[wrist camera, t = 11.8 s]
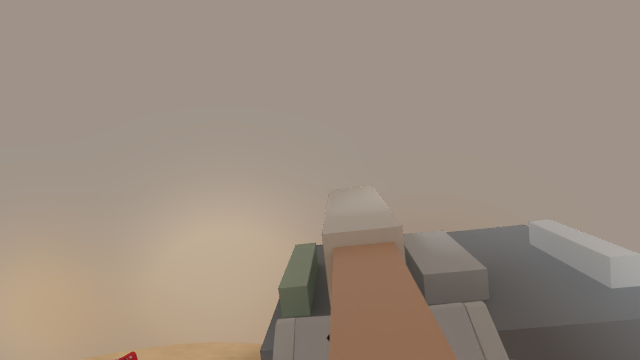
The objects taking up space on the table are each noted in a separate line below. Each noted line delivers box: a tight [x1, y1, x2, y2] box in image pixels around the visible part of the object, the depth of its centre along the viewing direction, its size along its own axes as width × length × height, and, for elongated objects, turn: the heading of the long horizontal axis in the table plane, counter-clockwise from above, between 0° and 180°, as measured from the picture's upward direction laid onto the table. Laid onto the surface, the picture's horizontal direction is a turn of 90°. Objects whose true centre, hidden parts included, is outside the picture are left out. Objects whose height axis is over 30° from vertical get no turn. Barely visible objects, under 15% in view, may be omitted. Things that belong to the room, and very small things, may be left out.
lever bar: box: [322, 186, 457, 360], centre depth 18 cm, size 24×3×3 cm, turn 178°
